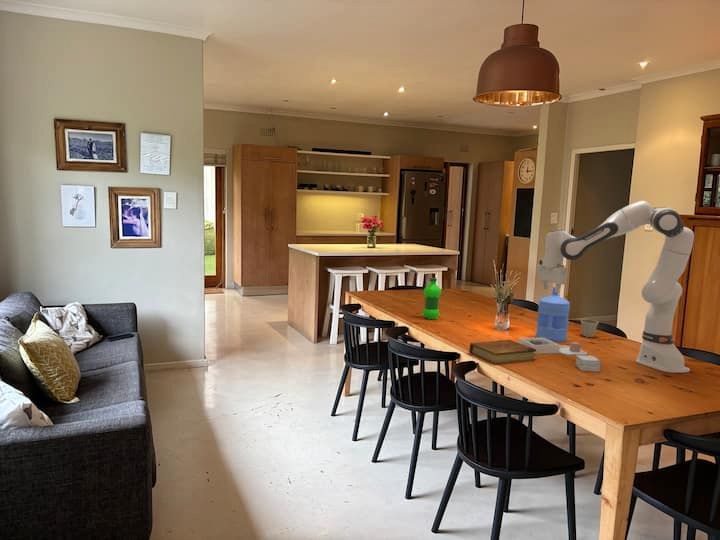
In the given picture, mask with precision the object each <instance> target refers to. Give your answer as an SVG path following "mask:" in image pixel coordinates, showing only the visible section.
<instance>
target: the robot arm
mask: <svg viewBox="0 0 720 540" xmlns="http://www.w3.org/2000/svg"><path fill="white" fill-rule="evenodd" d="M645 225H648V226H649V225H650V226H651V227H652V228H653V230H654V231H656V232H658V233H660V234H662V235H664V237H665V238H664V243H663V246H662V247H661V251H660V254H659V257H658V261H657V262H656V265H655V267H654V269H653V270H652V273H651V274H650V276H649V278H648V280H647V282H646V283H645V284H644V285H643V287H642V288H641V297H642V299H643V300H644V301H645V302H647V303H648V304H650V305H649V308H648V310H647V311H646V314H645V320H644V328H643V329H644V330H642V334H641V336H642V337H641V338H642V342H641V344H640V347H639V350H638V351H639V352H638V354H637V355H638V356H637V358H636V360H635V362H636V363H637V364H640V365H642V366H646V367H649V368H652V369H655V370H658V371H661V372H665V373H675V374H676V373H677V374H678V373H679V374H680V373H683V374H684V373H690V372H691V369H690V368H689V367H687V366H685V356H684V355H683V354H682V353H681V352H680V350H679V349H678V348H677V347H676V345H675V342H676V341H677V339H676V337H673V334H672V331H673V325H674V317H675V314H676V311H677V308H678V304H679V301H680V298H681V296H682V294H683V287H682V285H681V283H680V282H679V279H680V278H681V276H682V275H683V274H684V272H685V270H686V268H687V265H688V262H689V258H690V256H691V253H692V249H693V247H694V246H693V244H694V242H695V241H694V239H695V233H694V231H693V230H692V229H690V228H689V227H686V226H684V225H683V221H682V218H681V215H680V214H679V213H678V212H677V211H676V210H675V209H673V208H670V207H665V206H663V207H653V205H652V204H651V203H650V202H648V201H646V200H639V201H636V202H633V203H631V204H628V205H626V206H624V207H622V208H621V209H619V210H617V211H615V212H614V213H613V214H611V215H610V216H609V217H607V218H606V220H605V221H603V222H602V223H601V224H600V225H598V226H597V227H596V228H595V229H593V230H591V231H589V232H587V233H585V234H583V235H581V236H578V237H576V236H574V235H571V234H569V233H568V232H566V231H565V230H564V229H557V230H556V229H555V230H550V231H548V233H547V234H546V238H545V246H544V248H545V253H544V256H543V258H542V259H539V260H538V263H537V264H538V266H537V267H538V269H537V277H538V280H541V281H542V282H541V283H542V285H543V290H549V286H548V282H549V283H554V284H555V287H556V288H555V289H554V292H555V293H558V294H559V293H560V288H561V287H562V285H567V283H568V271H567V267H566V266H565V264H564V258H565V259H566V260H568V261H576V260H578V259H580V258H581V257H582V256H583V254H584V253H585V252H586V251H587V250H588V249H590V248H592V247H593V246H595V245H597V244H599V243H601V242H603V241H605V240H608V239H611V238H617V237H619V236H622V235H626V234H628V233H629V232H630V233H631V232H632V231H634V230H636V229H638V228H640V227H642V226H645Z"/></svg>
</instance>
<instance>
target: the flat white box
mask: <svg viewBox="0 0 720 540" xmlns="http://www.w3.org/2000/svg"><path fill="white" fill-rule="evenodd" d="M530 340H537V341H538V340H545V341H548V345H534V344H532V343H530ZM517 343H520V344H523V345H525V346H528V347H531V348H533V349H536V351H535V352H534V354H535V355H536V354H537V355H538V354H544V355H545V354H547V355H548V354H560V353H559V351H560V346H561V345H560V344H559V343H558V342H552V341H550V340H548V339H546V338H537V337H518V341H517Z"/></svg>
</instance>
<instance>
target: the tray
mask: <svg viewBox="0 0 720 540" xmlns="http://www.w3.org/2000/svg"><path fill="white" fill-rule="evenodd" d="M569 349H570V345H560V351H559V353H558V354H559V355H562V356H565V357H566V356H567V357H568V356H571V357H572V356H576V355H584V356H590V354H589V353H588V352H586V351H584V350H583V349H580V352H572V351H570V350H569Z"/></svg>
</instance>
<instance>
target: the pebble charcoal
mask: <svg viewBox="0 0 720 540" xmlns="http://www.w3.org/2000/svg"><path fill="white" fill-rule="evenodd" d="M530 343H532V344H534V345H540V342H539V341H537V340H530Z"/></svg>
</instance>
